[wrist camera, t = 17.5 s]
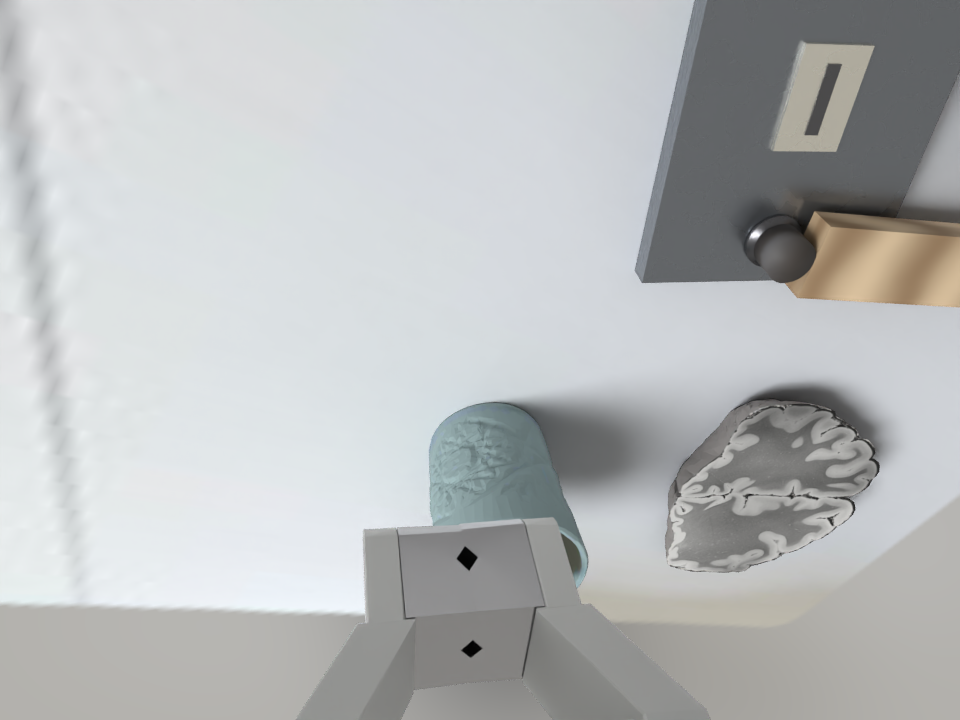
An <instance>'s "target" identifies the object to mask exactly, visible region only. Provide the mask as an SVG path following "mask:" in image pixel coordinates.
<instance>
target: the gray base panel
mask: <svg viewBox="0 0 960 720" xmlns="http://www.w3.org/2000/svg"><path fill="white" fill-rule="evenodd" d="M959 71H960V0H695V2H694V6H693V11H692V15H691V20H690V24H689V29H688V33H687V38H686V42H685V47H684V51H683V56H682V61H681V65H680V70H679V74H678V79H677V83H676V88H675V92H674V97H673V101H672V106H671V110H670V115H669V119H668V124H667V128H666V133H665V137H664V142H663V146H662V151H661V155H660V160H659V164H658V169H657V173H656V178H655V182H654V187H653V191H652V196H651V200H650V205H649V209H648V214H647V218H646V223H645V227H644V232H643V236H642V241H641V245H640V250H639V254H638V259H637V263H636V268H635V272H636V273H637V275H638V277H639V279H640V280H641V282H642V283H662V282H711V281H760V280H772V279H771V278H770V276H769V275H768V274H767V273H766V272H765V270H764V269H763V268H762V267H761V266H760V264H759V263H758V262H757V261H756V259H755V257H754V246H755V244H756V242H757V240H758V238H759V237H760V236H761V235H762V234H763V233H764V232H765V231H766V230H768V229H769V228H771V227H773V226H776V225H780V224H789V225H792V226H794V227H795V228H796V229H797V230H798V231H799V232H800V233H801V234H802V235H803V236H804V233H805V231H806V229H807V227H808V225H809V222H810V220H811V218H812V216H813V214H814V211H818V212H830V213H842V214H853V215H865V216H877V217H889V218H896V215H897V213H898V211H899V209H900V206H901V204H902V202H903V199H904V197H905V195H906V192H907V190H908V188H909V186H910V183H911V181H912V179H913V176H914V174H915V172H916V169H917V167H918V165H919V163H920V160H921V158H922V156H923V153H924V151H925V149H926V147H927V144H928V142H929V140H930V137H931V135H932V133H933V130H934V128H935V126H936V124H937V121H938V119H939V117H940V114H941V112H942V110H943V107H944V105H945V103H946V101H947V98H948V96H949V94H950V91H951V89H952V87H953V84H954V82H955V80H956V78H957V75H958V73H959Z"/></svg>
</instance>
